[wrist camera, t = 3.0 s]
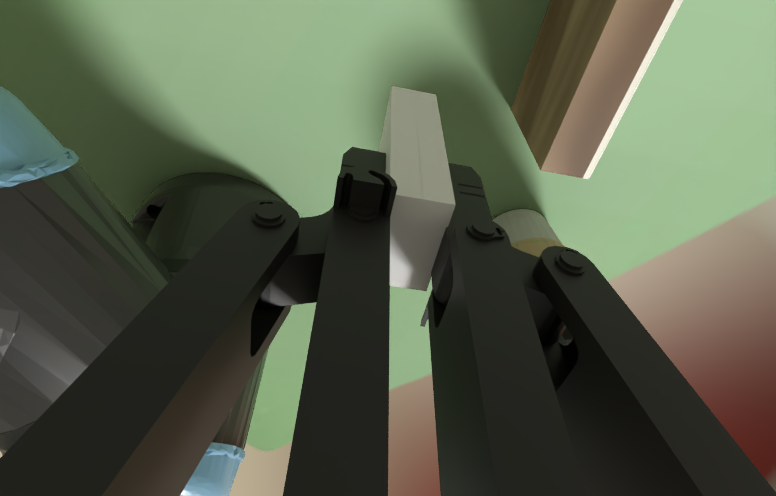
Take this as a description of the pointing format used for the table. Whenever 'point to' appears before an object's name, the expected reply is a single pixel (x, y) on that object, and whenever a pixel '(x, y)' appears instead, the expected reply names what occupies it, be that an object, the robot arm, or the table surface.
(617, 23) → the wooden block
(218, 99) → the table surface
